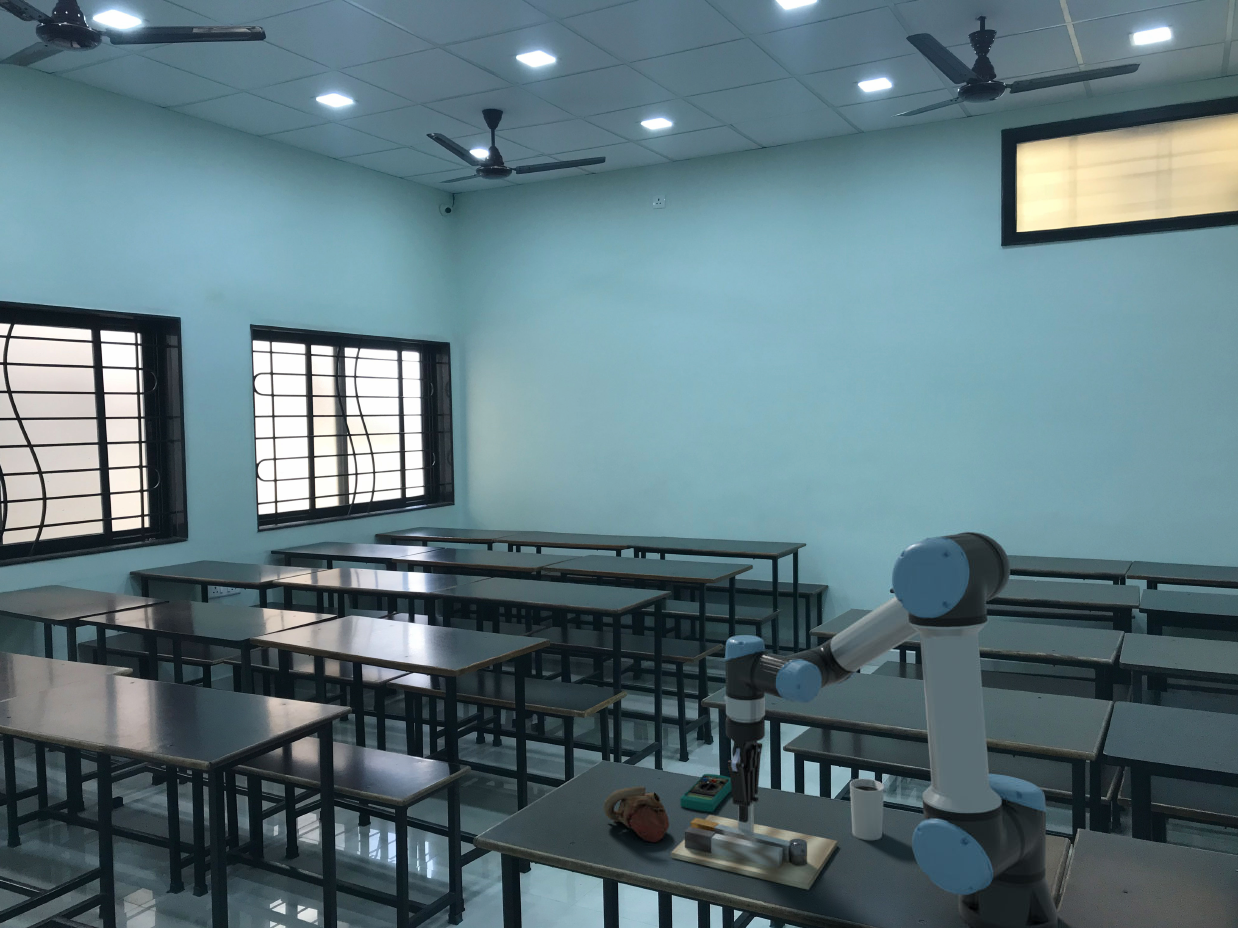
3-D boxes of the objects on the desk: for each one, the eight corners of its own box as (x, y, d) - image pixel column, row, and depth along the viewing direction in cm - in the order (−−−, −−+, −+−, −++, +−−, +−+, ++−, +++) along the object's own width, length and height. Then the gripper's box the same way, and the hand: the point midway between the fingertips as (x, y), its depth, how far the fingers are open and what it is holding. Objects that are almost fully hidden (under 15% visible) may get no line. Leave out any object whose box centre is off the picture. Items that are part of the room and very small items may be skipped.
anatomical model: (662, 858, 180) (607, 823, 190) (687, 822, 184) (631, 789, 194) (644, 828, 173) (587, 792, 182) (670, 791, 177) (613, 758, 186)
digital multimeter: (735, 788, 206) (735, 775, 206) (712, 814, 192) (712, 800, 192) (704, 783, 209) (703, 770, 209) (679, 809, 196) (679, 795, 195)
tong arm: (809, 859, 168) (809, 840, 168) (803, 866, 165) (803, 847, 165) (697, 831, 180) (697, 814, 180) (689, 837, 178) (689, 820, 178)
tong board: (837, 845, 176) (836, 824, 176) (808, 889, 159) (808, 866, 159) (709, 819, 189) (709, 799, 189) (671, 857, 172) (670, 835, 172)
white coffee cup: (855, 841, 178) (855, 791, 177) (846, 826, 184) (845, 778, 184) (888, 840, 178) (888, 790, 178) (878, 825, 185) (877, 777, 184)
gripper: (739, 704, 181) (739, 818, 182) (714, 723, 170) (715, 845, 171) (774, 709, 178) (775, 826, 179) (751, 729, 166) (752, 853, 167)
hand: (745, 835), depth 175 cm, fingers closed
